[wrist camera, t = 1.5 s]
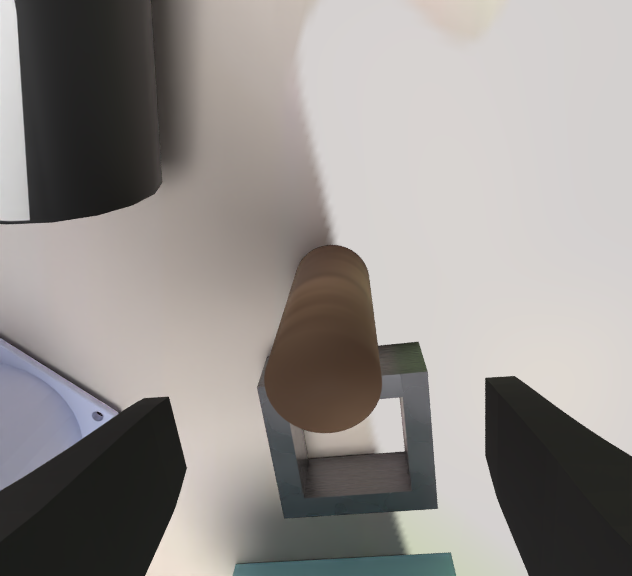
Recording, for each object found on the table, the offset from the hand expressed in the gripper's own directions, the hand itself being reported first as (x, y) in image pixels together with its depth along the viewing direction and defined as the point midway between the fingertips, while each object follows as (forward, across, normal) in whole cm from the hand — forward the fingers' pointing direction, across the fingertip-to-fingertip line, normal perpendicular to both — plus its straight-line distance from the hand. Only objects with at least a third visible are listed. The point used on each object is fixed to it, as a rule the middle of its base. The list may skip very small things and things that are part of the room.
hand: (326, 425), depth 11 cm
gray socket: (+9, 0, +6) cm, 11 cm away
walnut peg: (+10, 0, 0) cm, 10 cm away
